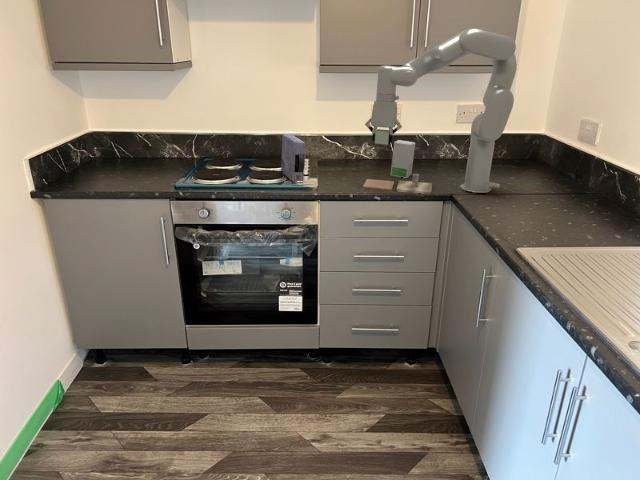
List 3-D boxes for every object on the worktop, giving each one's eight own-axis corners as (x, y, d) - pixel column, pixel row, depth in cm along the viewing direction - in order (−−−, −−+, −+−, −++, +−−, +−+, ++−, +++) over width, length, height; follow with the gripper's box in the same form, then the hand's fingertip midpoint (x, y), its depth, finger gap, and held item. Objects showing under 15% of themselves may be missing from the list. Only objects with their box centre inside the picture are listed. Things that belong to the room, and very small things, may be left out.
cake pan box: (305, 183, 211) (306, 141, 204) (294, 184, 209) (294, 142, 202) (291, 172, 227) (291, 133, 221) (280, 172, 226) (280, 133, 219)
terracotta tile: (394, 182, 216) (394, 181, 216) (391, 190, 205) (391, 188, 205) (366, 180, 218) (367, 178, 218) (362, 187, 207) (362, 186, 207)
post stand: (431, 185, 213) (433, 171, 211) (430, 194, 201) (432, 180, 199) (399, 182, 216) (400, 169, 214) (396, 191, 204) (397, 177, 201)
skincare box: (390, 176, 226) (393, 141, 220) (395, 173, 232) (398, 139, 226) (407, 178, 223) (411, 144, 217) (412, 175, 228) (415, 141, 222)
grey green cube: (389, 142, 207) (390, 130, 205) (387, 144, 202) (388, 132, 200) (376, 141, 208) (377, 129, 206) (374, 143, 203) (375, 131, 201)
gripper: (407, 98, 200) (403, 143, 207) (365, 96, 203) (362, 140, 210) (406, 100, 193) (401, 147, 200) (362, 98, 196) (359, 143, 203)
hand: (381, 143), depth 205 cm, fingers closed on grey green cube, 5 cm apart
